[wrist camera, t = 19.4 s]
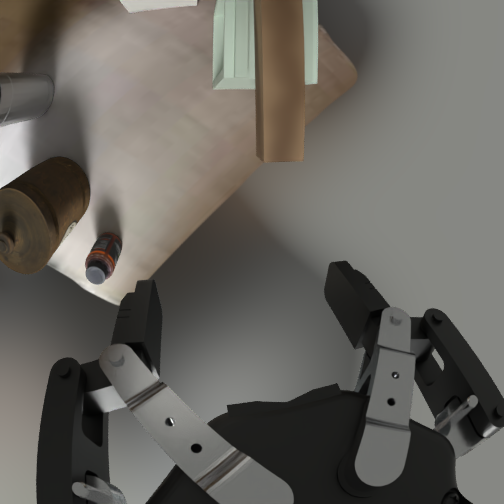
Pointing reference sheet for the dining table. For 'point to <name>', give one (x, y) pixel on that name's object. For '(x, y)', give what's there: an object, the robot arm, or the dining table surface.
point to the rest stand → (252, 44)
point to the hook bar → (279, 80)
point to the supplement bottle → (103, 258)
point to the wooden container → (40, 212)
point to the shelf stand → (154, 4)
